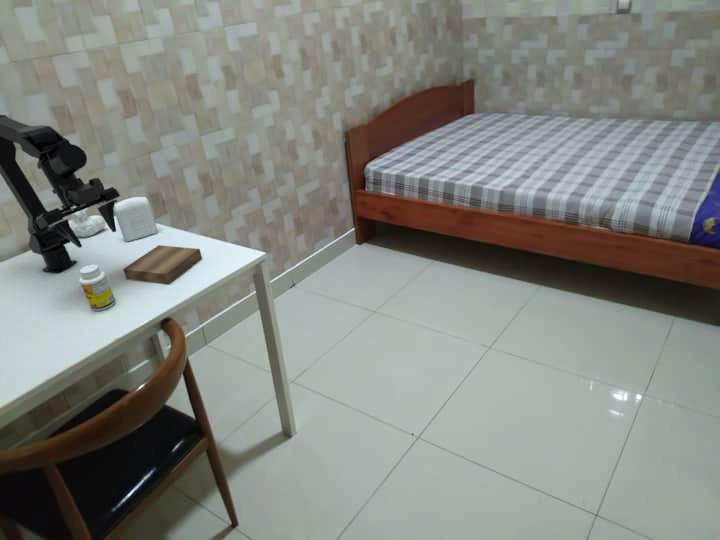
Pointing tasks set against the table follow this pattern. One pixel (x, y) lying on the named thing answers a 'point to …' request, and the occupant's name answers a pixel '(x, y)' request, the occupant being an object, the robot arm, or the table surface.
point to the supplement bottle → (96, 288)
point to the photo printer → (135, 218)
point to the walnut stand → (162, 264)
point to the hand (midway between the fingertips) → (98, 239)
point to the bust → (86, 224)
